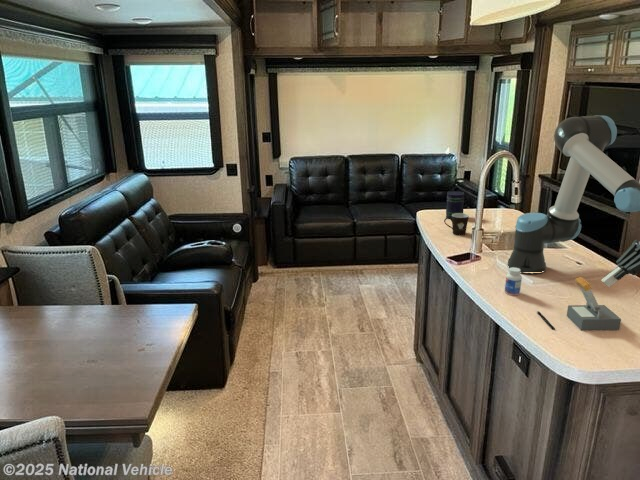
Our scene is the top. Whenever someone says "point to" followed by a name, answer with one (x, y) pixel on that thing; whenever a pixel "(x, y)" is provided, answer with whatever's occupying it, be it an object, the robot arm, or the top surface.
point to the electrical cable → (545, 320)
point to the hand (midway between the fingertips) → (604, 283)
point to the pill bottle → (513, 281)
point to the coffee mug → (459, 223)
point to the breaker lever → (588, 294)
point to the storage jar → (454, 203)
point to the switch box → (593, 318)
